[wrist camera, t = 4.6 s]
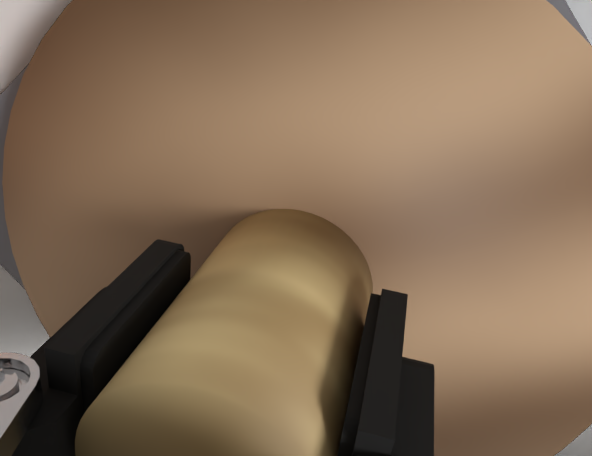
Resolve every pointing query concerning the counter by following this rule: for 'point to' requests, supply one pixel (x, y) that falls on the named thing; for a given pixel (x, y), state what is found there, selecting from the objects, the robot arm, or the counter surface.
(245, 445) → the lid
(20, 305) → the counter surface
